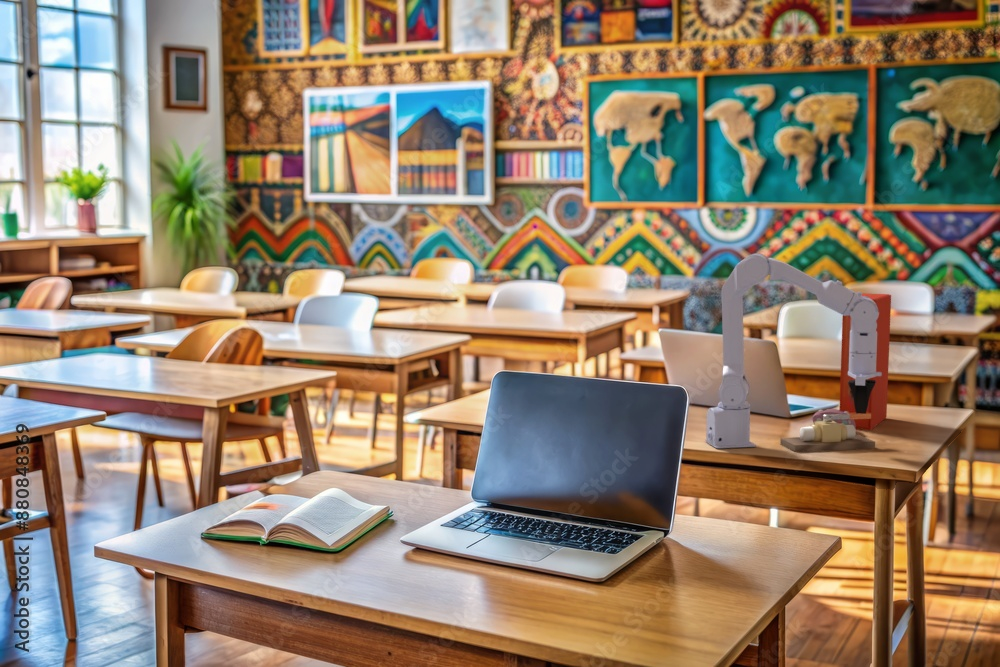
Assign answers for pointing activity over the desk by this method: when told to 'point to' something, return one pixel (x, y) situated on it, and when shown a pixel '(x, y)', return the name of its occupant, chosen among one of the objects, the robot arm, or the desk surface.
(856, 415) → the valve lever
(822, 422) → the pipe valve
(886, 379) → the file binder
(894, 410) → the desk surface
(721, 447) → the robot arm
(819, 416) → the video game controller
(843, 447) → the board
